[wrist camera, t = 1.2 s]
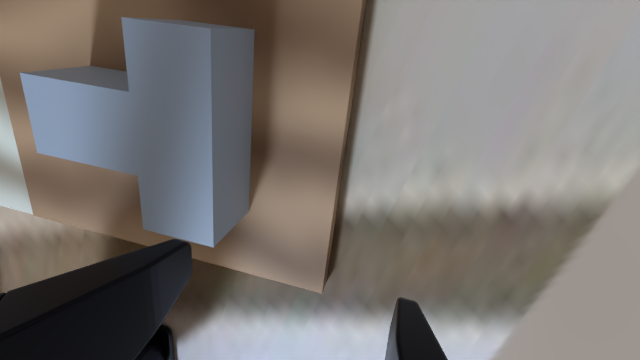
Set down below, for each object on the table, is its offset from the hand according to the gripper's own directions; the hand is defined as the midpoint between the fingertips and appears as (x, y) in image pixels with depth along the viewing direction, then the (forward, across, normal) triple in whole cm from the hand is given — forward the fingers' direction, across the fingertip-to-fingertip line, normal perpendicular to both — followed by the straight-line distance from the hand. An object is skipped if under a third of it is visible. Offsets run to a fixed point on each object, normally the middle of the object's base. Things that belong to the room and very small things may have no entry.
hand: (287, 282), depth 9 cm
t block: (+11, +11, 0) cm, 15 cm away
